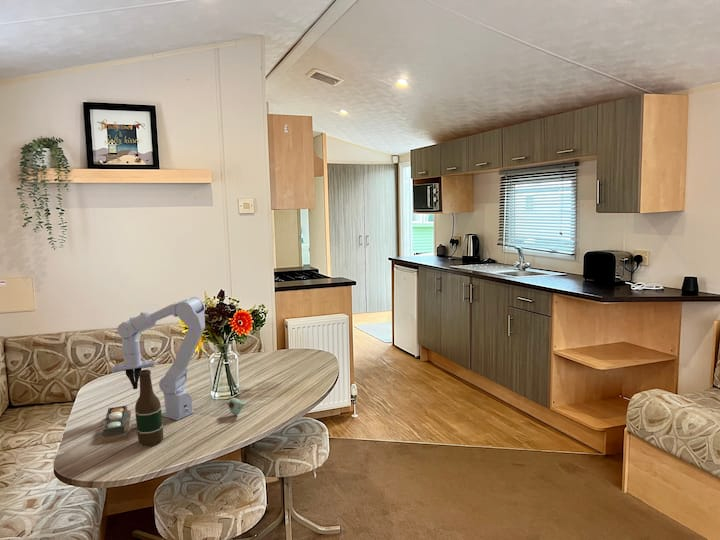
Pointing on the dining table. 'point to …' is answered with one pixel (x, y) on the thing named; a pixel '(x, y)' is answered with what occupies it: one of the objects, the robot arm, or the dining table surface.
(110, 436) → the button panel
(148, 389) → the beer bottle
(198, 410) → the dining table surface
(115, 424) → the sage button
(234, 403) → the robot head
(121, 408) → the terracotta button
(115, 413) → the cream button
